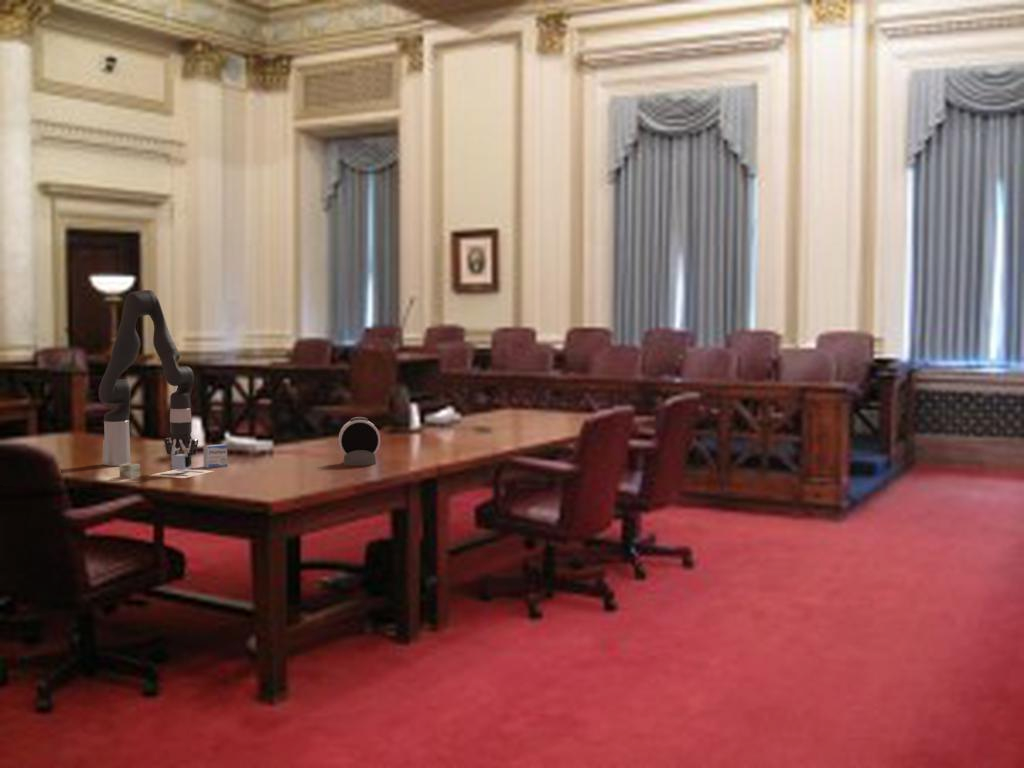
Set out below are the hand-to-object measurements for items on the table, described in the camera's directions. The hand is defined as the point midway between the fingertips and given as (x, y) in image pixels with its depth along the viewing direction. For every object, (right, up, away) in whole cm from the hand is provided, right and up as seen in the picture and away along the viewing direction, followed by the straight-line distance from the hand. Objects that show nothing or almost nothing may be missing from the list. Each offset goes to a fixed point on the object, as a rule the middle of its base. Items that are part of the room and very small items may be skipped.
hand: (181, 466), depth 430 cm
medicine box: (+8, -2, +18) cm, 19 cm away
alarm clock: (+62, -1, +28) cm, 68 cm away
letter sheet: (0, -3, 0) cm, 3 cm away
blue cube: (0, -1, 0) cm, 1 cm away
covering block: (-16, -4, -8) cm, 19 cm away
